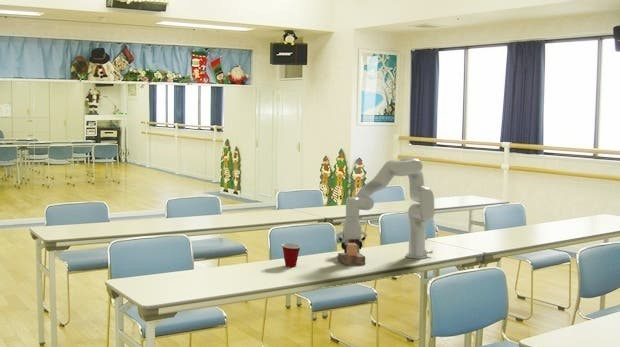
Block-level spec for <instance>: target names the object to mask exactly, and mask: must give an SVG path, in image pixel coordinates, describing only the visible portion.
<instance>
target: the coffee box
mask: <svg viewBox="0 0 620 347" xmlns="http://www.w3.org/2000/svg"><path fill="white" fill-rule="evenodd" d="M359 241H360V240H359V239H346V240H345V241H344V243H345V249H344V250H343V251H344V252H343V253H347V243H356V244H357V252H359V253H360V250H361V249H359Z"/></svg>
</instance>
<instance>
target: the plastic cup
mask: <svg viewBox="0 0 620 347" xmlns="http://www.w3.org/2000/svg"><path fill="white" fill-rule="evenodd" d="M281 247H282V252H283V259H284V265H285V268H296V267H297V263H298V259H299V258H298V257H299V253H300V251H301V250H300V249H301V248H302V245H301V244H298V243H292V242H291V243H289V242H287V243H282V244H281Z"/></svg>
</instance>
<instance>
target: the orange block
mask: <svg viewBox="0 0 620 347" xmlns="http://www.w3.org/2000/svg"><path fill="white" fill-rule="evenodd" d="M347 255H348V256H357V244H356V243H347Z"/></svg>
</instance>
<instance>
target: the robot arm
mask: <svg viewBox="0 0 620 347" xmlns="http://www.w3.org/2000/svg"><path fill="white" fill-rule="evenodd" d="M423 168H424V167H423V162H422V161H421V160H419V159H417V158H412V157H402V158H400V160H399V161H398V160H392V159H391V160H387V161H386V162H385V163H384V164H383V166H382V167H381V168H380V170H379V171H378V172H377V173H376V175H375V176H374V177H373V178H372V179H371V180H370V181H369V182H367V183H365V184H364V185H363V186H362V187H361V188H360V189H359V191H357V192H356V194H355V196H348V197H346V199H345V220H344V221H343V225H342V231H340V232H339V233H337V234H336V236H337V239H338V240H339V241H340V242H341V244H340V246H341V249H342V250H343V251H344V249H345V243H344V241H345V240H346V239H359V240H360V241H359V249H360V250H362V248H363V242H364V241H365V240H366V238H367V237H368V234H367V233H365V232H364V231H362V225H361V224H362V223H361V221H360V220H362V216H360V211H361V210H362V211H369V210H372V209H373V208H374V206H375V201H374V199H373V198H372V197H371V196H372V195H373V194H375V193H377V192H379V191H382V190H384V189H386V188H387V186H388V185H389V183H390V182H391V181H392V180H393V178H394V177H406V176H407V177H408V183H409V185H408V186H409V198H410V200H412V201H413V202H415V203H412V204H411V205H410V206H409V208H408V210H407V213H408V214H407V215H408V220H409V221H408V224H409V228H408V229H409V230H408V252H406V253H405V256H406V258H410V259H417V260H419V259H420V260H421V259H426V258H428V255H429V254H430V255H431V254H432V255H433V253H434V251H433V249H432V250H430V249H426V229H427V228H426V223H430V222H432V220H434V216H435V196H434V193H433V191H432V190H431V188H429V187H427V186H425V181H424V175H423V174H424V173H423V172H422V171H423ZM416 202H417V203H416ZM362 235H363V237H362ZM341 236H342V237H341Z"/></svg>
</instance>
